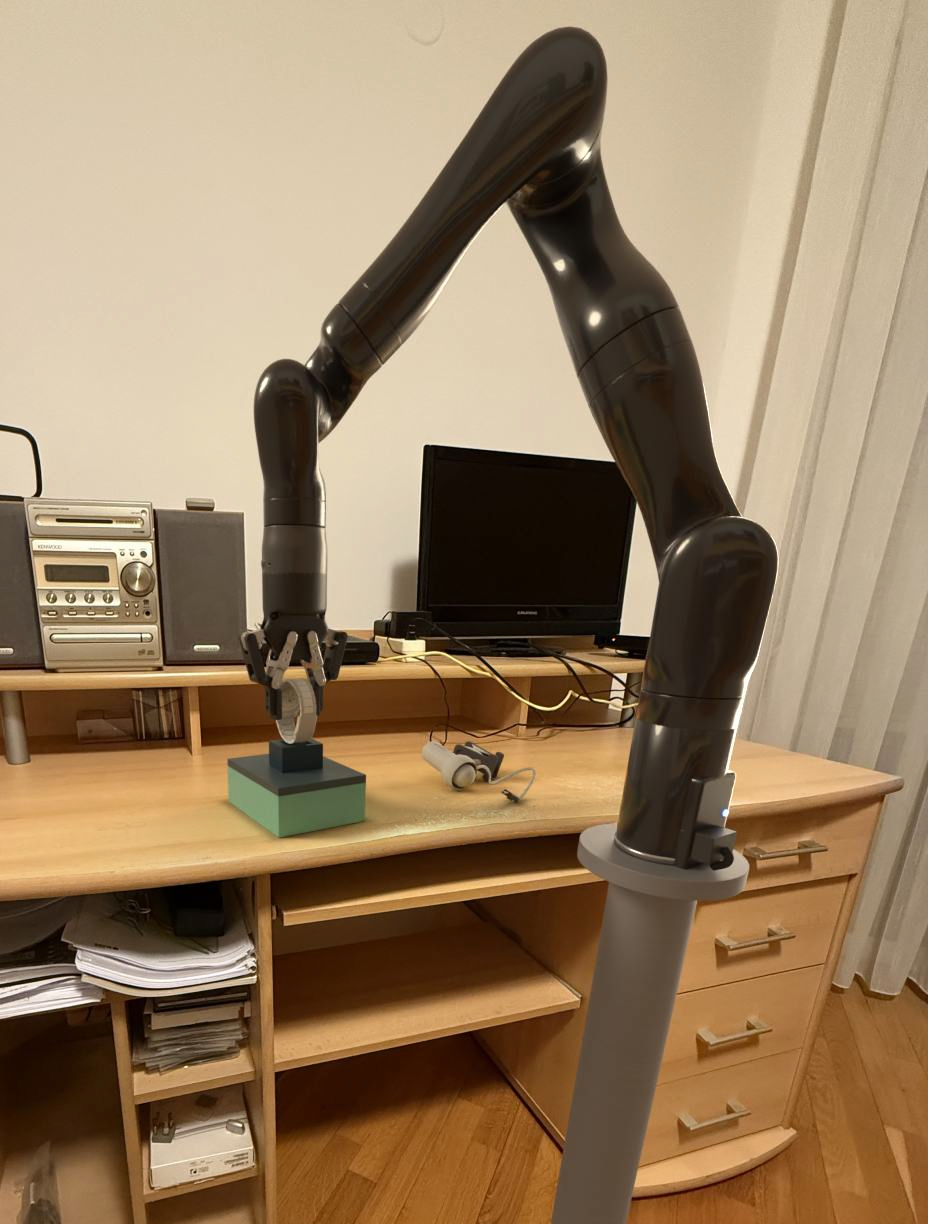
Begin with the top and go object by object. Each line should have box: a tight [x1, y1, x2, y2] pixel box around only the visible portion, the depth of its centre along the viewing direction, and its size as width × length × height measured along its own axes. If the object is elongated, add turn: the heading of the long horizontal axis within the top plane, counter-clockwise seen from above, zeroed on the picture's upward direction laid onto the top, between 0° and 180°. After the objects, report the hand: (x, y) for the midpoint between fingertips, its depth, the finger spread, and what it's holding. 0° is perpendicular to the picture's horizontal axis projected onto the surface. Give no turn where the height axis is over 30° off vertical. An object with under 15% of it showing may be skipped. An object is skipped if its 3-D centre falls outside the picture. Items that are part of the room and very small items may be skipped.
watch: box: [268, 677, 324, 773], centre depth 78 cm, size 6×8×11 cm
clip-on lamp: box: [421, 740, 536, 803], centre depth 92 cm, size 12×6×18 cm
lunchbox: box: [226, 753, 367, 839], centre depth 81 cm, size 15×12×6 cm
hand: (294, 716), depth 78 cm, fingers closed on watch, 4 cm apart
